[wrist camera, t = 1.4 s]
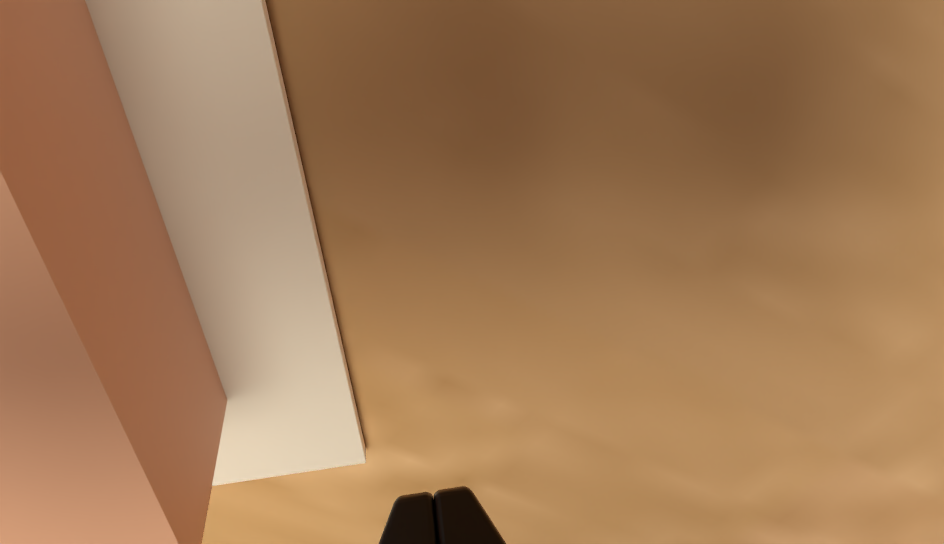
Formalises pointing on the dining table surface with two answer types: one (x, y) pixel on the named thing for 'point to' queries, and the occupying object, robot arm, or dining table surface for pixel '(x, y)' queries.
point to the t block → (91, 309)
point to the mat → (238, 225)
